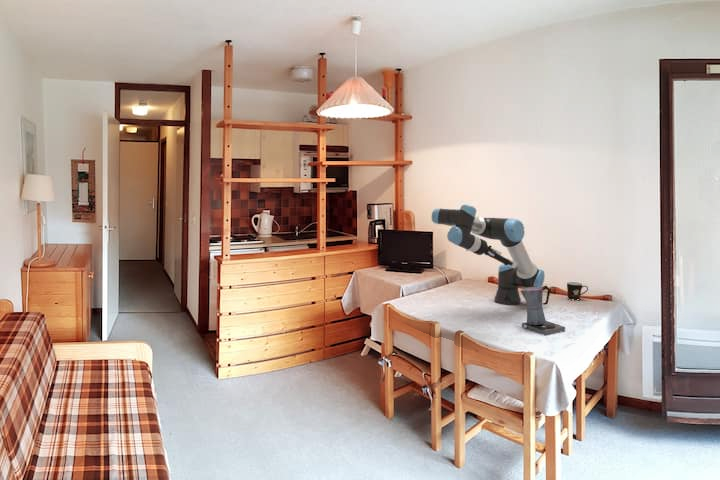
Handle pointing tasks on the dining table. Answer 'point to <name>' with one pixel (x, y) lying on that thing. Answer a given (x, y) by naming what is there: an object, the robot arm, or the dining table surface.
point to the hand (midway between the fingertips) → (507, 260)
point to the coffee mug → (574, 290)
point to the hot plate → (544, 327)
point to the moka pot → (535, 304)
